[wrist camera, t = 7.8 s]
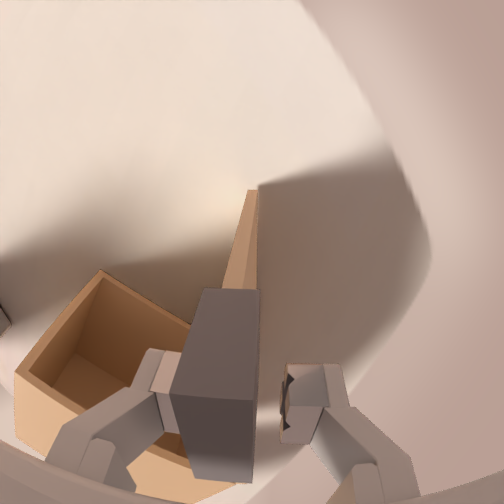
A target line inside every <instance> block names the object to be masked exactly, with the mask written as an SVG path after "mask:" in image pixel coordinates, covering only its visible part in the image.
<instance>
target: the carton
mask: <svg viewBox="0 0 504 504" xmlns="http://www.w3.org/2000/svg"><path fill="white" fill-rule="evenodd" d="M190 327H191V325H190V324H188V323H187V322H185V321H183V320H181V319H180V318H178V317H176V316H174V315H173V314H171V313H169V312H168V311H166V310H164V309H163V308H161V307H159V306H158V305H156V304H154V303H153V302H151V301H149V300H148V299H146V298H144V297H143V296H141V295H140V294H138V293H136V292H135V291H133V290H132V289H130V288H128V287H127V286H125V285H124V284H122V283H121V282H119V281H117V280H116V279H114V278H113V277H111V276H110V275H108V274H107V273H105V272H104V271H102V270H101V269H100V270H99V271H98V273H97V274H96V275H95V276H94V277H93V278H92V279H91V280H90V281H89V282H88V283H87V285H86V286H85V287H84V288H83V289H82V290H81V291H80V292H79V293H78V295H77V296H76V297H75V298H74V299H73V300H72V301H71V303H70V304H69V305H68V306H67V307H66V308H65V309H64V311H63V312H62V313H61V314H60V315H59V317H58V318H57V319H56V320H55V321H54V322H53V324H52V325H51V326H50V327H49V328H48V330H47V331H46V332H45V333H44V335H43V336H42V337H41V338H40V339H39V341H38V342H37V343H36V344H35V346H34V347H33V348H32V350H31V351H30V352H29V353H28V355H27V356H26V357H25V358H24V360H23V361H22V362H21V364H20V365H19V366H18V368H17V369H16V370H15V373H14V416H15V435H16V437H17V438H18V439H19V440H21V441H22V442H24V443H25V444H27V445H28V446H29V447H31V448H33V449H34V450H36V451H37V452H39V453H40V454H42V455H43V456H45V457H47V455H48V453H49V451H50V449H51V447H52V445H53V443H54V441H55V439H56V437H57V435H58V433H59V431H60V429H61V427H62V425H63V424H65V423H67V422H69V421H70V420H72V419H74V418H75V417H77V416H79V415H80V414H82V413H84V412H85V411H87V410H89V409H90V408H92V407H94V406H95V405H97V404H98V403H100V402H102V401H103V400H105V399H107V398H108V397H110V396H111V395H113V394H115V393H116V392H118V391H120V390H121V389H123V388H124V387H128V388H130V387H131V384H132V382H133V380H134V377H135V375H136V373H137V371H138V368H139V366H140V364H141V362H142V360H143V357H144V355H145V353H146V351H147V350H148V349H149V348H153V349H158V350H164V351H172V352H179V353H182V351H183V348H184V345H185V342H186V339H187V336H188V333H189V330H190ZM126 468H127V470H128V472H129V473H130V475H131V477H132V479H133V480H134V482H135V484H136V485H137V487H136V491H135V493H138V494H142V495H146V496H151V497H155V498H160V499H165V500H170V501H175V502H181V503H186V504H194V503H196V502H198V501H201V500H203V499H205V498H208V497H210V496H212V495H214V494H217V493H219V492H221V491H223V490H225V489H227V488H229V487H231V486H233V485H235V484H236V483H235V482H222V481H212V480H203V479H195V478H194V475H193V472H192V469H191V466H190V463H189V460H188V457H187V454H186V451H185V448H184V445H183V441H182V438H181V435H180V434H177V433H170V432H164V434H163V435H162V436H161V437H160V438H158V439H157V440H156V441H155V442H154V443H153V444H152V445H151V446H150V447H149V448H147V449H146V450H145V451H144V452H143V453H142V454H141V455H140V456H139V457H137V458H136V459H135V460H134V461H133V462H132V463H131V464H129V465H128V466H127V467H126Z"/></svg>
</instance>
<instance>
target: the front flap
mask: <svg viewBox="0 0 504 504" xmlns="http://www.w3.org/2000/svg"><path fill="white" fill-rule="evenodd" d="M257 209H258V190H248V192H247V195H246V199H245V202H244V206H243V210H242V213H241V217H240V221H239V224H238V228H237V232H236V235H235V239H234V243H233V246H232V250H231V254H230V258H229V261H228V265H227V269H226V273H225V277H224V280H223V284H222V288H204V289H203V292H202V295H201V298H200V301H199V304H198V307H197V310H196V312H195V315H194V318H193V321H192V324H191V327H190V330H189V333H188V336H187V339H186V342H185V345H184V348H183V351H182V354H181V357H180V360H179V363H178V366H177V369H176V372H175V375H174V378H173V381H172V384H171V387H170V390H169V396H170V400H171V404H172V407H173V411H174V415H175V418H176V422H177V425H178V428H179V432H180V435H181V438H182V441H183V445H184V448H185V451H186V454H187V457H188V460H189V463H190V466H191V469H192V472H193V475H194V478H195V479H203V480H212V481H222V482H235V483H236V484H246V483H252V478H253V462H254V446H255V430H256V413H257V395H258V367H259V323H260V290H259V289H257Z"/></svg>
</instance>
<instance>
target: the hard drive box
mask: <svg viewBox="0 0 504 504" xmlns="http://www.w3.org/2000/svg"><path fill="white" fill-rule="evenodd" d="M10 327H11V324H10V321H9V320H8V318H7V317H6V315H5V314H4V312H3V311H2V309H1V308H0V338H1V337H2V336H3V335H4V334H5V333H6V332H7V331H8V330H9V328H10Z"/></svg>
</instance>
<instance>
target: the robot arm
mask: <svg viewBox="0 0 504 504" xmlns="http://www.w3.org/2000/svg"><path fill="white" fill-rule="evenodd" d="M181 354H182V353H179V352H172V351H164V350H158V349H153V348H149V349H148V350H147V351H146V353H145V355H144V357H143V360H142V362H141V364H140V366H139V368H138V371H137V373H136V375H135V377H134V380H133V382H132V384H131V387H130V388H128V387H124V388H123V389H121V390H120V391H118V392H116V393H115V394H113V395H111V396H110V397H108V398H107V399H105V400H103V401H102V402H100V403H98V404H97V405H95V406H94V407H92V408H90V409H89V410H87V411H85V412H84V413H82V414H80V415H79V416H77V417H75V418H74V419H72V420H70V421H69V422H67V423H65V424H63V425H62V427H61V429H60V431H59V433H58V435H57V437H56V439H55V441H54V443H53V445H52V447H51V449H50V451H49V453H48V455H47V457H46V459H45V461H42V460H40V459H38V458H36V457H34V456H31V455H29V454H27V453H25V452H23V451H21V450H19V449H17V448H15V447H13V446H11V445H9V444H8V443H6V442H4V441H2V440H0V504H186V503H181V502H175V501H170V500H165V499H160V498H155V497H151V496H146V495H142V494H138V493H135V491H136V487H137V485H136V484H135V482H134V480H133V479H132V477H131V475H130V473H129V472H128V470H127V468H126V467H127V466H128V465H129V464H131V463H132V462H133V461H134V460H135V459H136V458H137V457H139V456H140V455H141V454H142V453H143V452H144V451H145V450H146V449H147V448H149V447H150V446H151V445H152V444H153V443H154V442H155V441H156V440H157V439H158V438H160V437H161V436H162V435H163V434H164V432H170V433H177V434H180V432H179V428H178V425H177V422H176V418H175V415H174V411H173V407H172V404H171V400H170V396H169V390H170V387H171V384H172V381H173V378H174V375H175V372H176V369H177V366H178V363H179V360H180V357H181ZM280 414H281V415H282V418H281V422H280V443H285V444H310V447H311V448H312V449H313V451H314V452H315V453H316V455H317V456H318V458H319V459H320V460H321V461H322V463H323V464H324V466H325V467H326V468H327V470H328V471H329V472H330V473H331V475H332V476H333V477H334V479H335V480H336V481H337V483H338V484H339V485H340V486H339V487H338V489H337V490H336V491H335V492H334V494H333V495H332V496H331V498H330V499H329V500H328V502H327V503H326V504H504V470H502V471H499V472H497V473H494V474H492V475H489V476H486V477H484V478H481V479H478V480H475V481H472V482H469V483H467V484H464V485H460V486H457V487H454V488H451V489H447V490H443V491H440V492H436V493H432V494H428V495H424V496H420V492H419V488H418V484H417V480H416V476H415V473H414V469H413V465H412V461H411V458H410V456H409V455H408V454H406V453H405V452H404V451H403V450H402V449H401V448H400V447H399V446H397V445H396V444H395V443H394V442H393V441H392V440H391V439H390V438H389V437H387V436H386V435H385V434H384V433H383V432H382V431H381V430H380V429H379V428H377V427H376V426H375V425H374V424H373V423H372V422H371V421H370V420H368V418H366V417H365V416H364V415H363V414H362V413H361V412H360V411H359V410H358V409H357V408H356V407H350V405H349V401H348V396H347V391H346V387H345V382H344V378H343V374H342V369H341V366H340V365H339V364H310V363H286V366H285V371H284V382H282V387H281V394H280Z"/></svg>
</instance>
